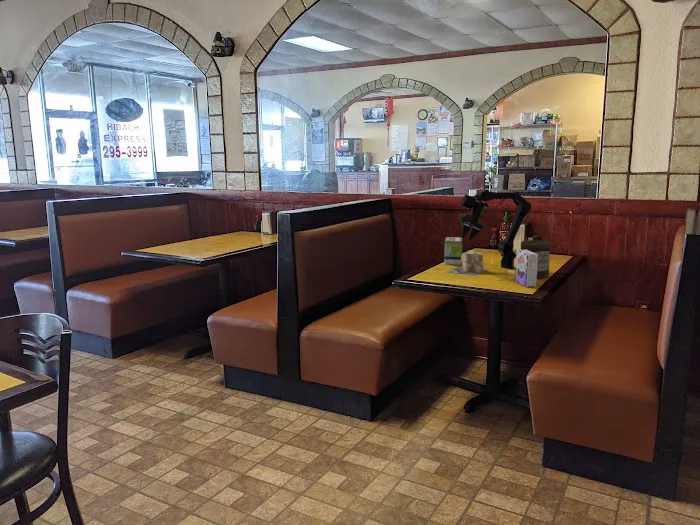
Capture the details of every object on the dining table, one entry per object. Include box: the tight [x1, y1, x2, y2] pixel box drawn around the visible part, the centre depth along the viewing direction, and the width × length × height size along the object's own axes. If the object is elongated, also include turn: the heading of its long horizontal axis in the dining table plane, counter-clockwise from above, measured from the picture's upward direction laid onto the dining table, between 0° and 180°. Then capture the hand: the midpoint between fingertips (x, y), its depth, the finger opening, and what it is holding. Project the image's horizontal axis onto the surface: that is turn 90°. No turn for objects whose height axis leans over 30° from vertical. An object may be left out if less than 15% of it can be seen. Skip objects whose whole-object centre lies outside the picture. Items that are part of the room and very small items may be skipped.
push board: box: [446, 266, 488, 277], centre depth 307 cm, size 17×18×2 cm
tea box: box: [443, 236, 463, 266], centre depth 331 cm, size 15×10×15 cm, turn 168°
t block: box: [461, 250, 484, 273], centre depth 307 cm, size 8×12×10 cm, turn 18°
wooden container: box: [520, 234, 551, 280], centre depth 292 cm, size 15×15×22 cm
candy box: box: [515, 249, 538, 288], centre depth 276 cm, size 14×6×16 cm, turn 5°
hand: (465, 238), depth 307 cm, fingers open, 9 cm apart
